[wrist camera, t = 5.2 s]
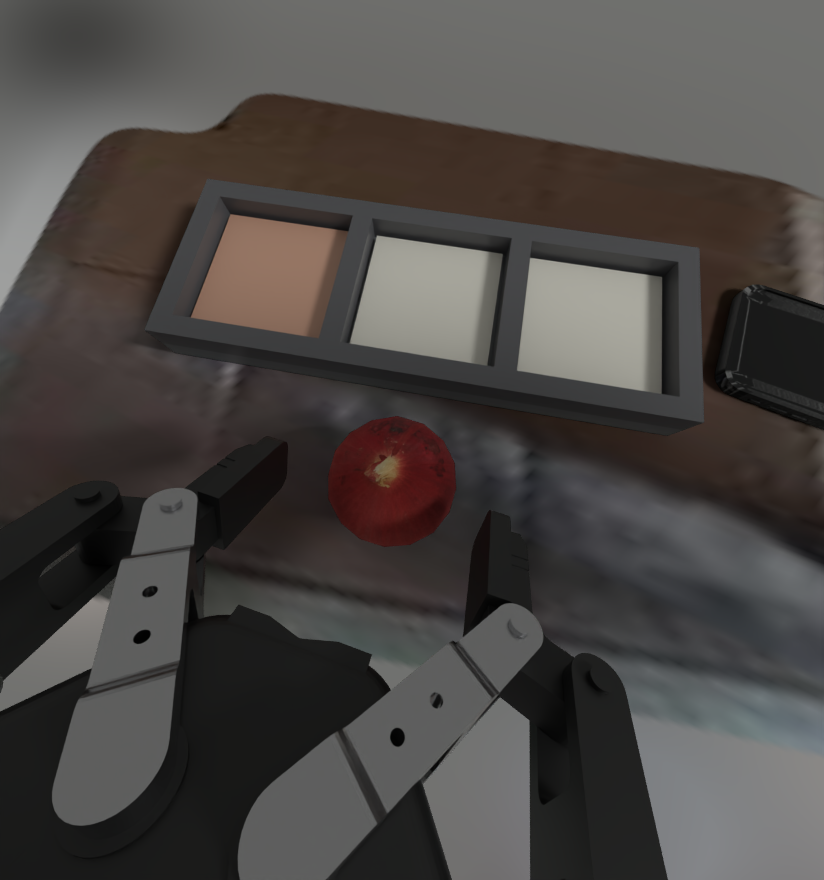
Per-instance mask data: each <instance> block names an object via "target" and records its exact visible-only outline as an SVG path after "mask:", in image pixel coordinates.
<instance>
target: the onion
mask: <svg viewBox="0 0 824 880" xmlns="http://www.w3.org/2000/svg"><path fill="white" fill-rule="evenodd" d="M455 491H456V478H455V463H454V461H453V459H452V457H451V455H450V453H449V451H448V449H447V447H446V445H445V443H444V441H443V440H442V439H441V438H440V437H438V436H437V435H436V434H435V433H434V432H432V431H431V430H430V429H429V428H428V427H427V426H425V425H424V424H422V423H419V422H415V421H412V420H409V419H405V418H402V417H399V416H395V417H389V418H383V419H377V420H372V421H370V422H368V423H366V424H364V425H363V426H361V427H359V428H358V429H356V430H354V431H352V432H351V433H349V435H348V436H347V437H346V438H345V440H344V441H343V442H342V443H341V444H340V446H339V447H338V448H337V449H336V451H335V454H334V457H333V461H332V464H331V467H330V471H329V474H328V499H329V501H330V503H331V505H332V507H333V509H334V511H335V512H336V514H337V516H338V518H339V520H340V522H341V523H342V524H343V525H344V526H345V527H347V528H348V529H349V530H350V531H351V532H353V533H354V534H355V535H356V536H357V537H358V538H360V539H362V540H365V541H368V542H371V543H374V544H377V545H380V546H384V547H388V546H400V545H411V544H412V543H414V542H416V541H418V540H420V539H422V538H424V537H426V536H428V535H430V534H432V533H433V532H434V531H435V530H436V529H437V527H438V526H439V525H440V524H441V522H442V521H443V520H444V518H445V517H446V516H447V515H448V513H449V512H450V508H451V505H452V501H453V498H454V494H455Z"/></svg>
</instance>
